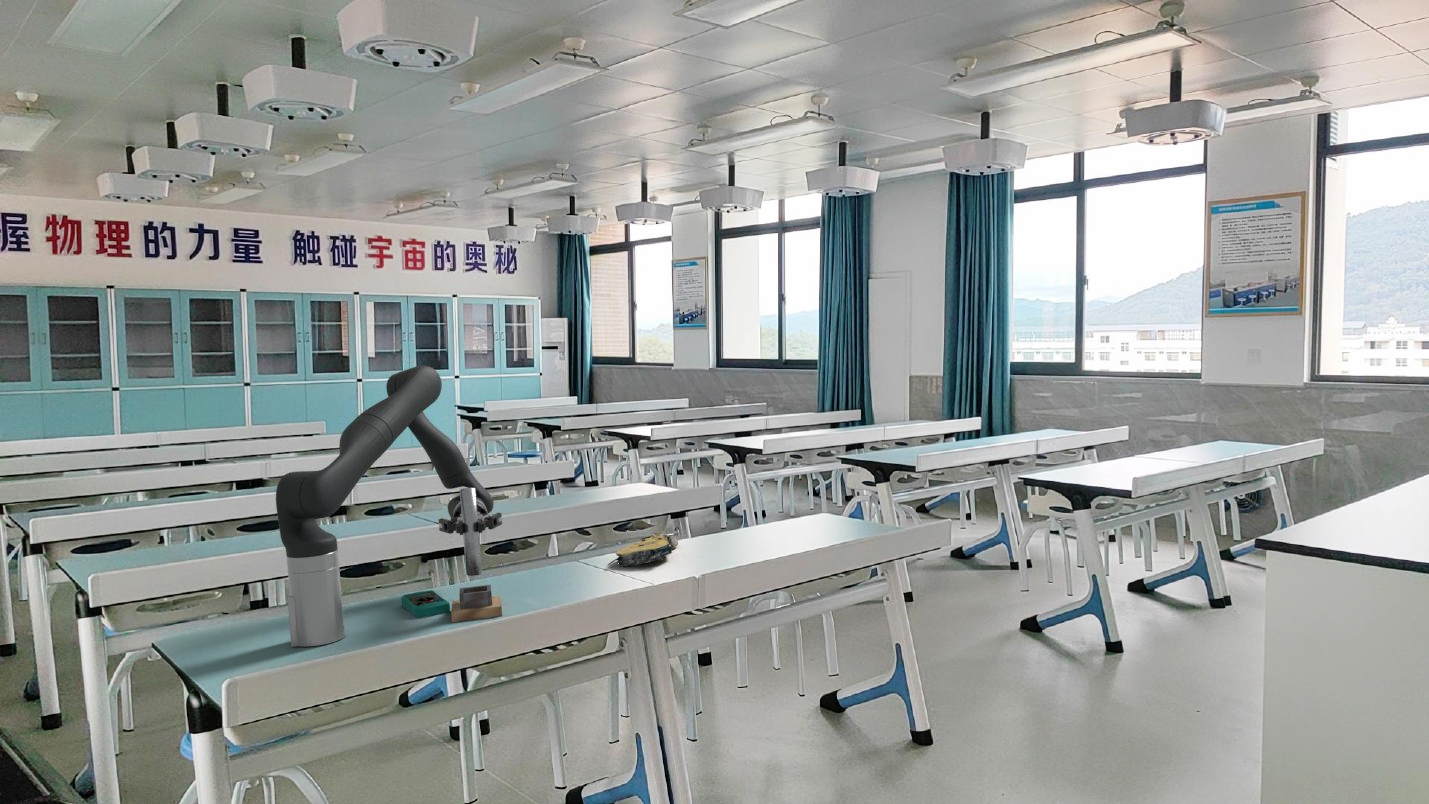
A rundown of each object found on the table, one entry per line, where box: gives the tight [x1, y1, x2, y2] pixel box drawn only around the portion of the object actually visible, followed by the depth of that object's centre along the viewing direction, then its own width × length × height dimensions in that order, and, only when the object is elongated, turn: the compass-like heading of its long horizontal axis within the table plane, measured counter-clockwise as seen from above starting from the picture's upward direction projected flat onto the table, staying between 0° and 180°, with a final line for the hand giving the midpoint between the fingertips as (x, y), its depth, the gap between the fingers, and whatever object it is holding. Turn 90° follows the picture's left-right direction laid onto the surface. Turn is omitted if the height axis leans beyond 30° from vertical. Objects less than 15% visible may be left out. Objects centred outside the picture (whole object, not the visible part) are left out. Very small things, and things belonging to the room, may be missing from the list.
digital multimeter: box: [400, 589, 451, 619], centre depth 204 cm, size 7×15×3 cm, turn 30°
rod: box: [459, 487, 483, 577], centre depth 196 cm, size 3×3×18 cm
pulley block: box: [607, 531, 679, 567], centre depth 243 cm, size 14×6×30 cm
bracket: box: [450, 584, 503, 623], centre depth 197 cm, size 10×10×5 cm
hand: (470, 528), depth 193 cm, fingers closed on rod, 3 cm apart
